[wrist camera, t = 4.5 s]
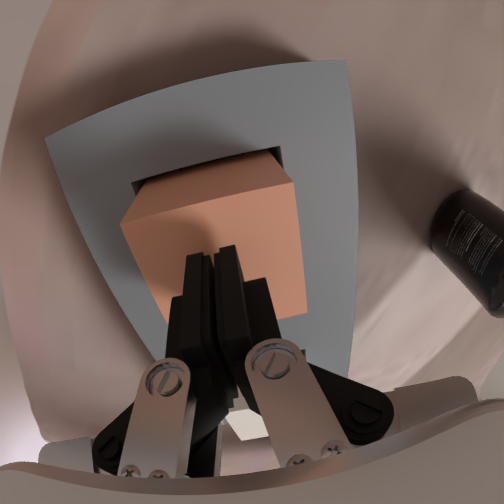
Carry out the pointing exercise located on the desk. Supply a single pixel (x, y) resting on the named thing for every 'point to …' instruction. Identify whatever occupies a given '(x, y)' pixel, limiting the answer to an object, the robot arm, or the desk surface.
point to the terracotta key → (220, 227)
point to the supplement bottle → (473, 246)
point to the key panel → (217, 146)
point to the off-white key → (245, 420)
